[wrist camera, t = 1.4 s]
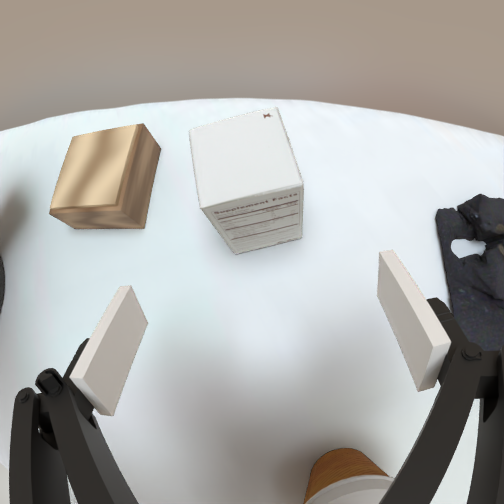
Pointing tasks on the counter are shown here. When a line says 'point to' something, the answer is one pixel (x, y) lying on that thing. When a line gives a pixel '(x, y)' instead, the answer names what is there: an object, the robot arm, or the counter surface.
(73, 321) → the counter surface
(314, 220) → the counter surface
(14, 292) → the counter surface
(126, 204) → the pedestal
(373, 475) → the disposable coffee cup
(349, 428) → the counter surface
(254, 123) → the supplement box
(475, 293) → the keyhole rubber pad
